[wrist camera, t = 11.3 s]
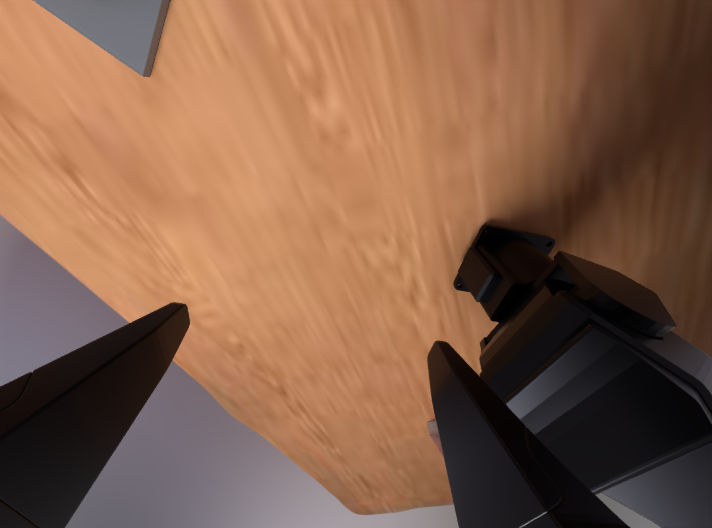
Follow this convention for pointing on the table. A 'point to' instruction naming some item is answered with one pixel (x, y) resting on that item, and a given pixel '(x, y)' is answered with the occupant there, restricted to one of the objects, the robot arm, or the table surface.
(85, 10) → the slate coaster
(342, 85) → the table surface
